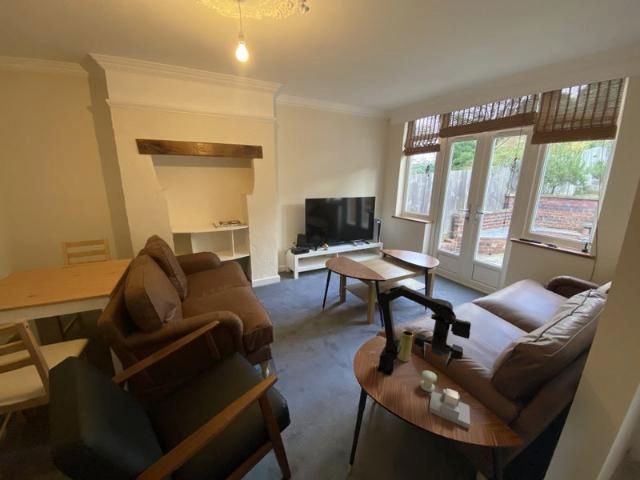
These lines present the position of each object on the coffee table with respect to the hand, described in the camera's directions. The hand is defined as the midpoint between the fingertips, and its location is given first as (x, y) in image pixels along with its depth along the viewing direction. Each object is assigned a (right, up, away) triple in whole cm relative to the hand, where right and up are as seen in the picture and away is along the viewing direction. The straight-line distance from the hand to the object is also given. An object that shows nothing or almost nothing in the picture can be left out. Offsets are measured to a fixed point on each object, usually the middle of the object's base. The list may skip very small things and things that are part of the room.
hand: (434, 362), depth 114 cm
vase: (-7, -8, +21) cm, 23 cm away
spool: (-2, -12, +2) cm, 12 cm away
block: (+1, -13, -10) cm, 16 cm away
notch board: (+1, -14, -10) cm, 18 cm away
